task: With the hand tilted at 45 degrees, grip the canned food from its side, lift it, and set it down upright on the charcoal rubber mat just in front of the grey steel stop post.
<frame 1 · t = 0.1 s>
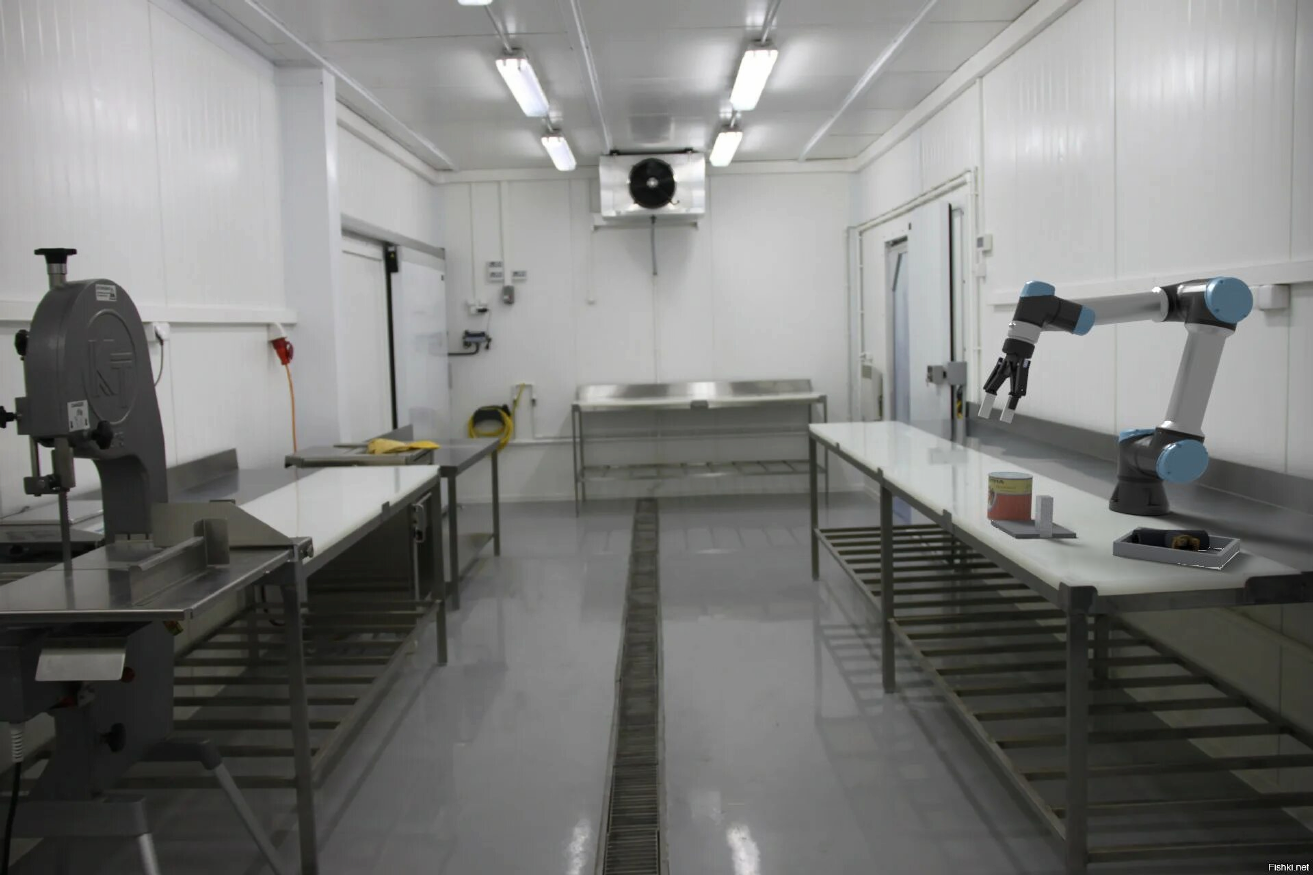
hand: (993, 419, 235), 28 cm above the table, tool tilted 20°, fingers open, 13 cm apart
rubber mat: (1032, 530, 230), on the table
parts corral: (1176, 553, 205), on the table
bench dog: (1043, 536, 223), resting on rubber mat
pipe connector: (1176, 555, 205), on the table
canned food: (1008, 519, 245), on the table
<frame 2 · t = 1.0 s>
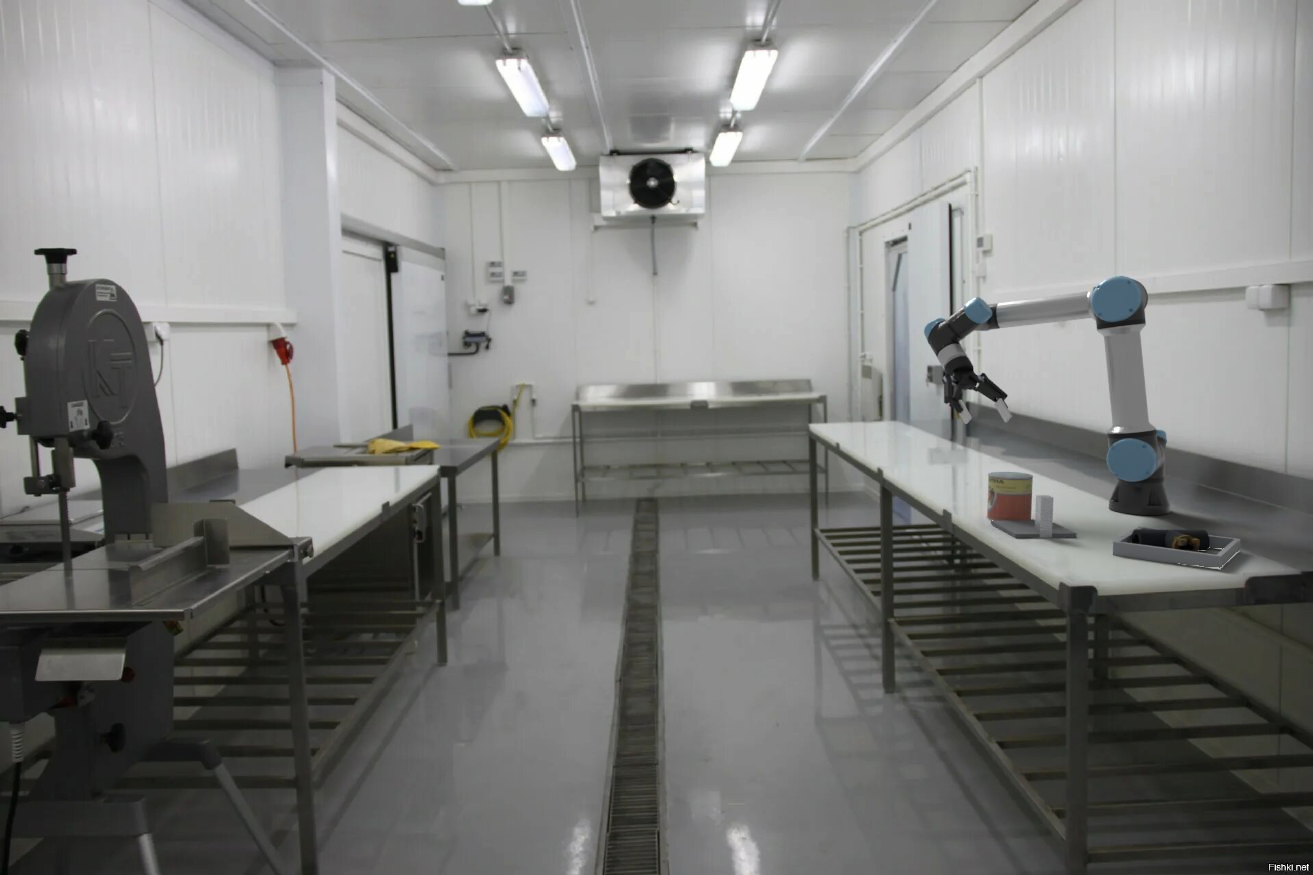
hand: (988, 420, 250), 26 cm above the table, tool tilted 45°, fingers open, 13 cm apart
nothing on the table moved.
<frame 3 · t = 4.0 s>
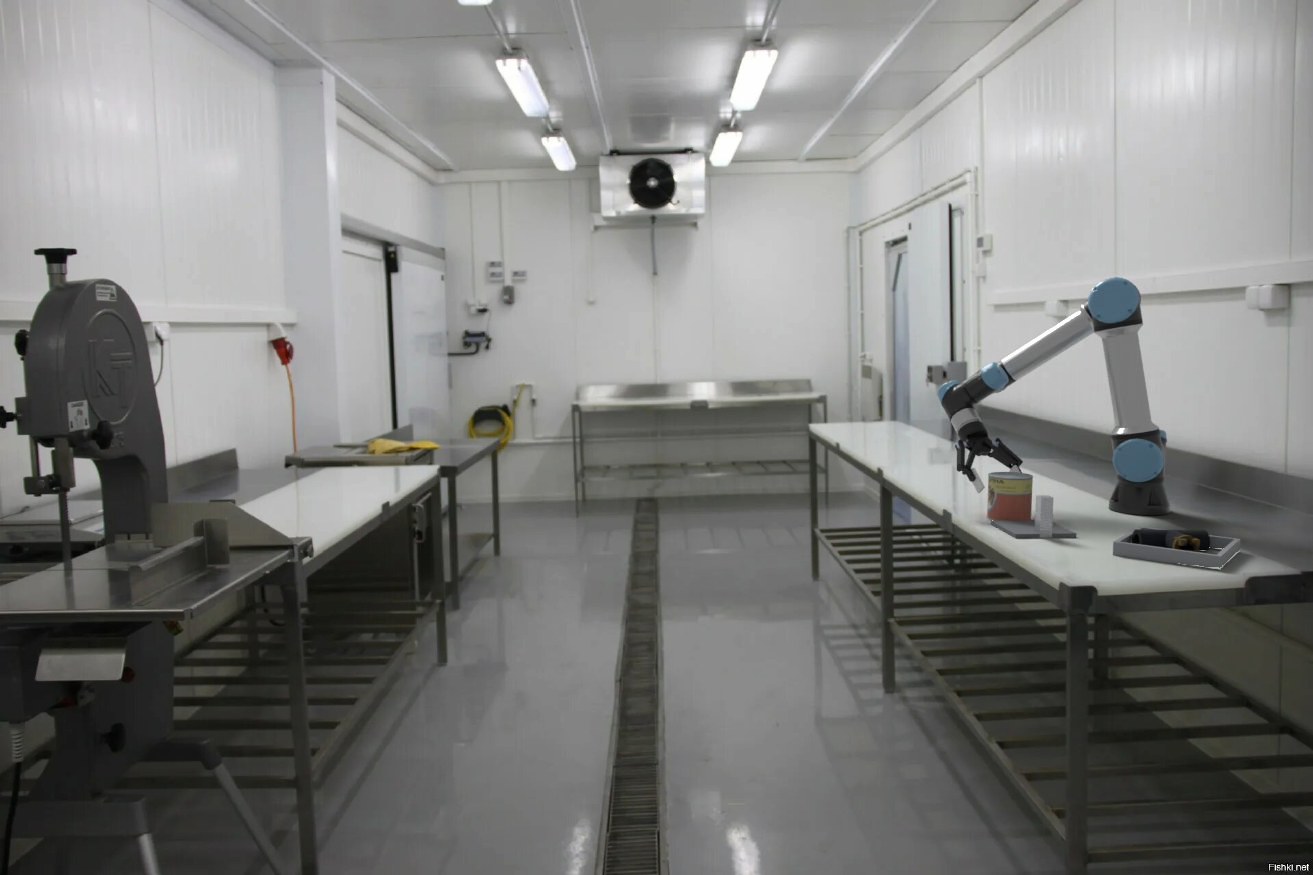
hand: (1002, 488, 245), 8 cm above the table, tool tilted 45°, fingers open, 13 cm apart
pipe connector: (1176, 555, 206), on the table, touching parts corral
everything else where it was.
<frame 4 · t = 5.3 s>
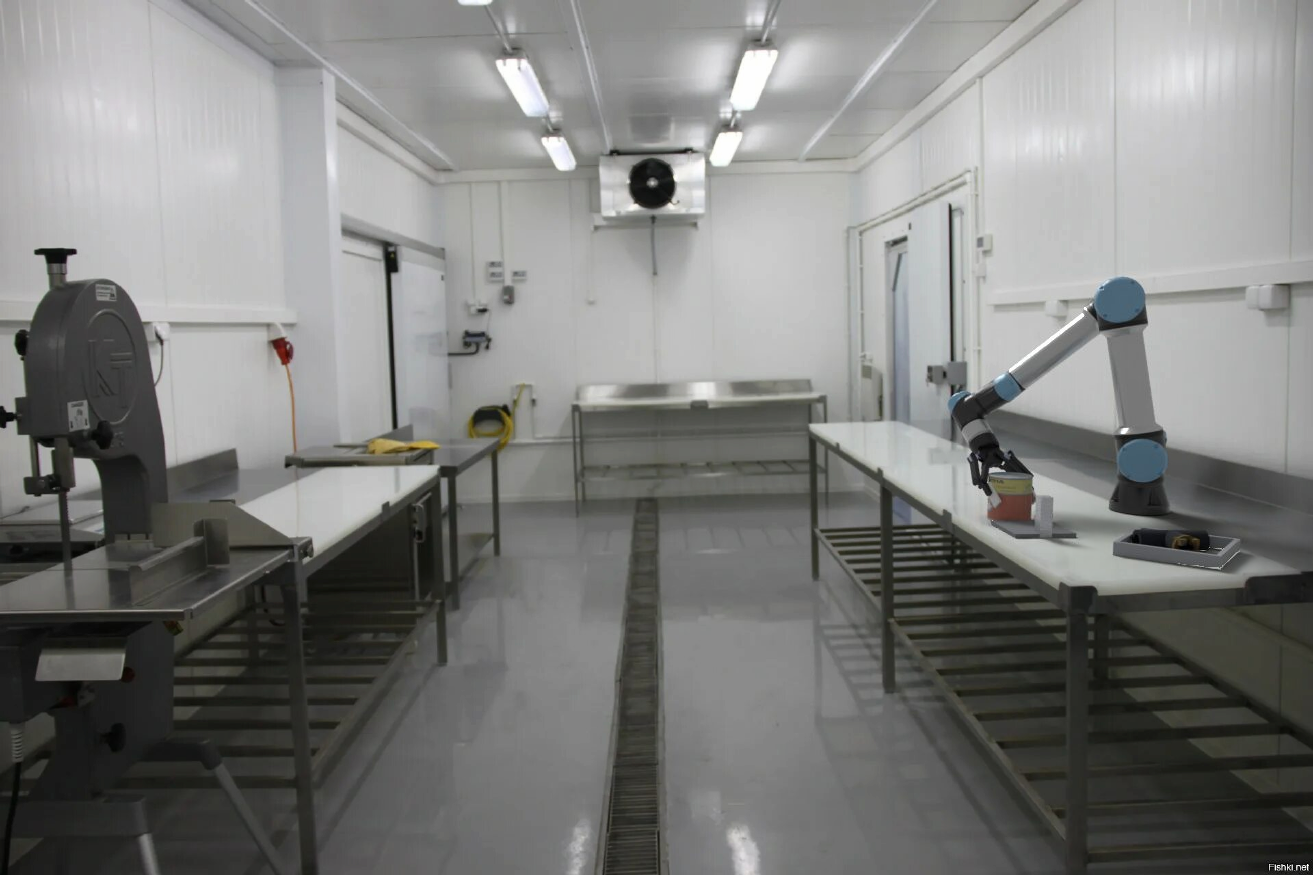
hand: (1016, 503, 241), 5 cm above the table, tool tilted 45°, fingers closed on canned food, 11 cm apart
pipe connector: (1176, 555, 206), on the table
canned food: (1008, 519, 245), on the table, touching gripper
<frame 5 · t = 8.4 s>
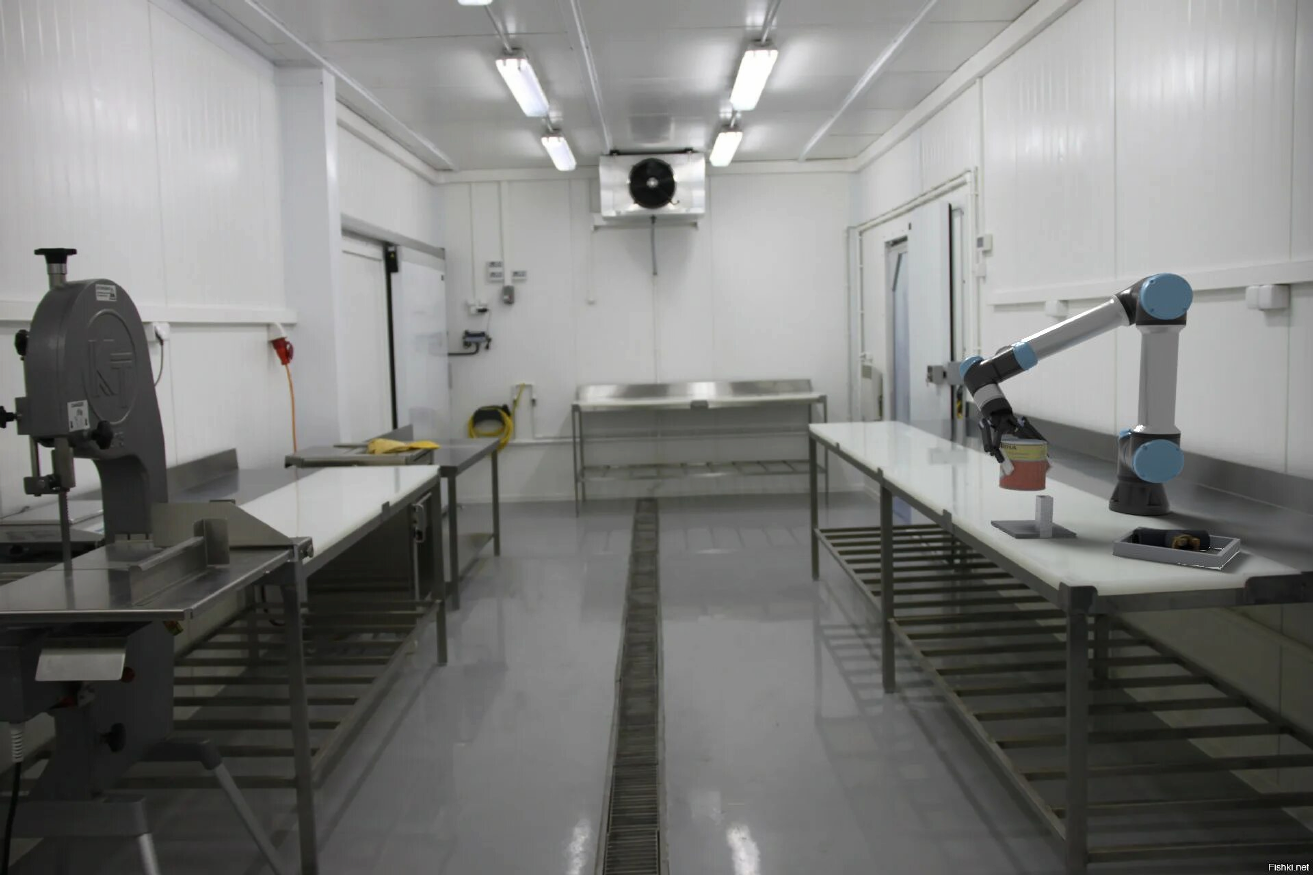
hand: (1030, 470, 230), 15 cm above the table, tool tilted 45°, fingers closed on canned food, 11 cm apart
canned food: (1022, 488, 234), point 10 cm above the table, touching gripper
everything else where it was.
when the fingers open (7 cm above the table, at t = 11.2 s): canned food drops 1 cm, resting on rubber mat.
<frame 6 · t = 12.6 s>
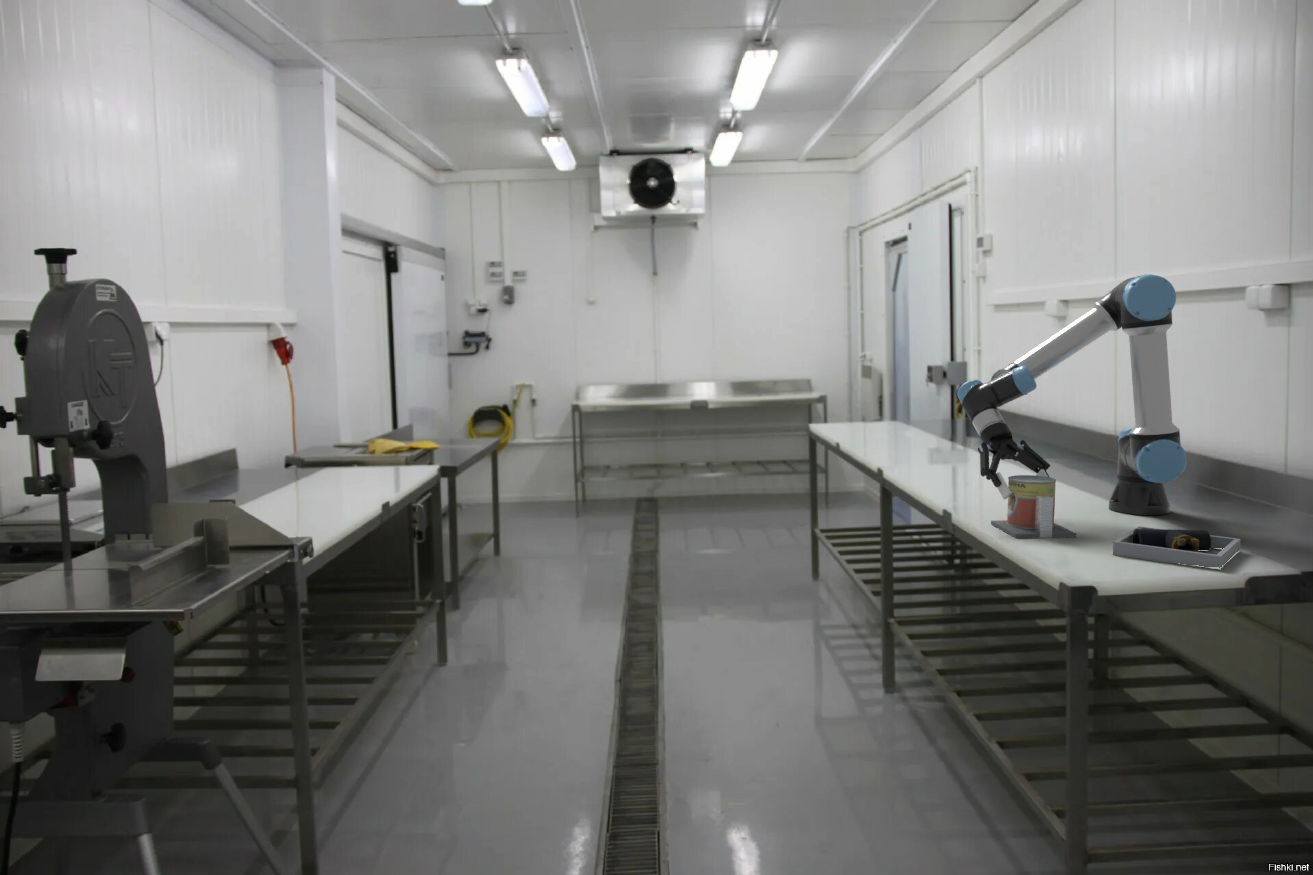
hand: (1029, 494, 230), 9 cm above the table, tool tilted 45°, fingers open, 13 cm apart
canned food: (1030, 525, 232), point 1 cm above the table, touching gripper, rubber mat
everything else where it was.
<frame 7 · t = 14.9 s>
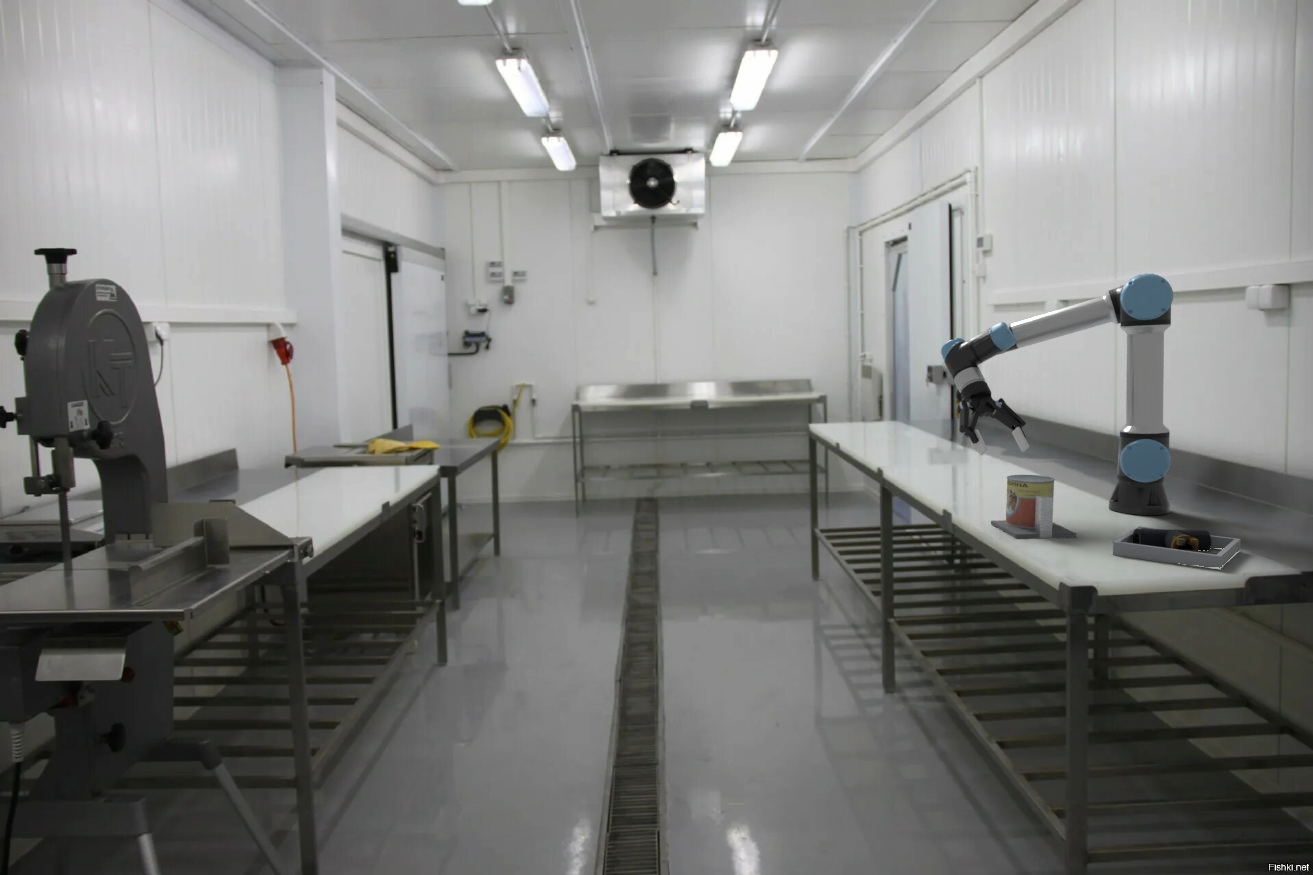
hand: (1005, 451, 242), 19 cm above the table, tool tilted 40°, fingers open, 13 cm apart
canned food: (1028, 524, 233), point 1 cm above the table, touching rubber mat
everything else where it was.
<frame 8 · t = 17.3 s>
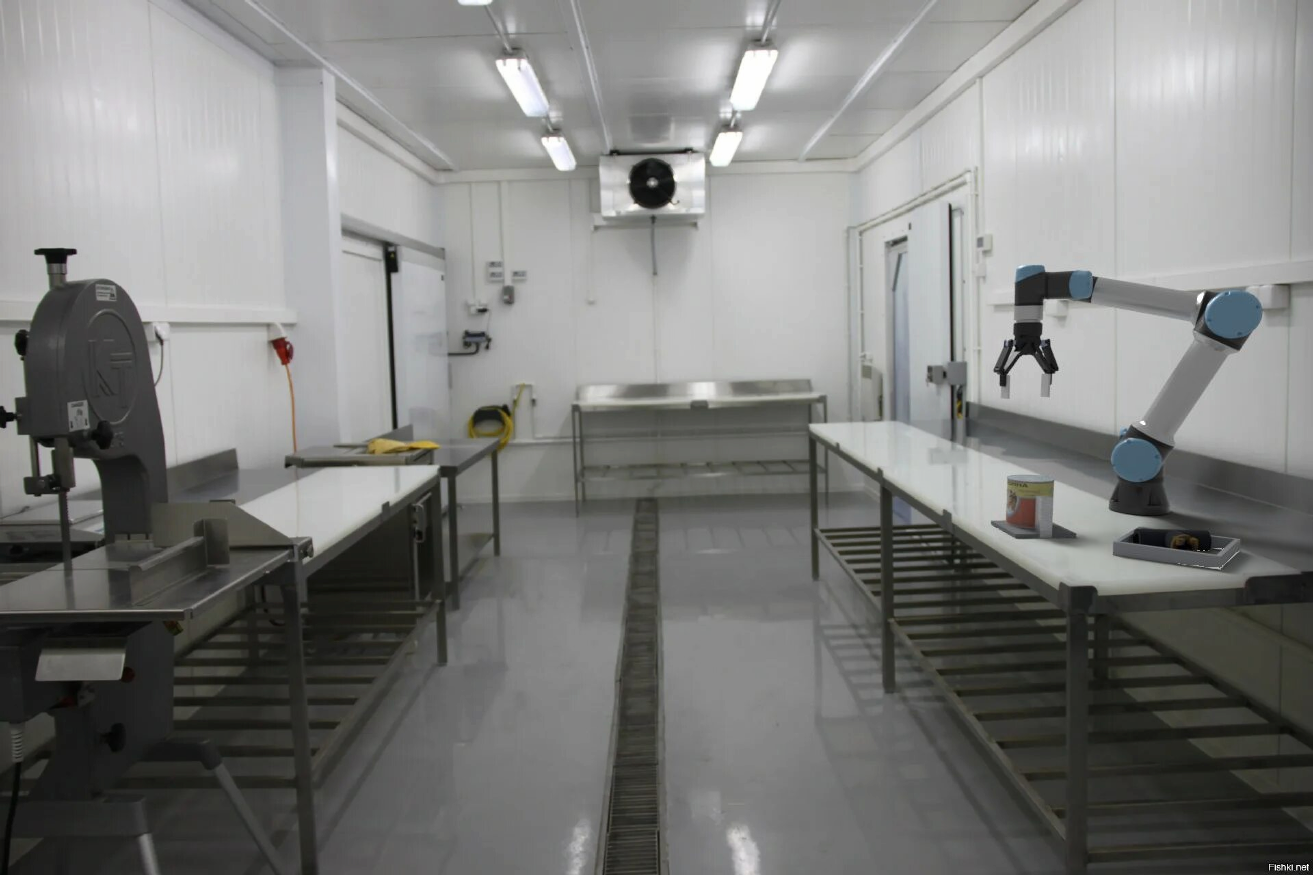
hand: (1025, 397, 254), 32 cm above the table, tool pointing down, fingers open, 13 cm apart
nothing on the table moved.
at the end: canned food inside the target area on the rubber mat (3.2 cm from its centre), point 0.8 cm above the rubber mat's base; canned food 9.7 cm from the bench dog (horizontally); canned food tilted 0° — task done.
